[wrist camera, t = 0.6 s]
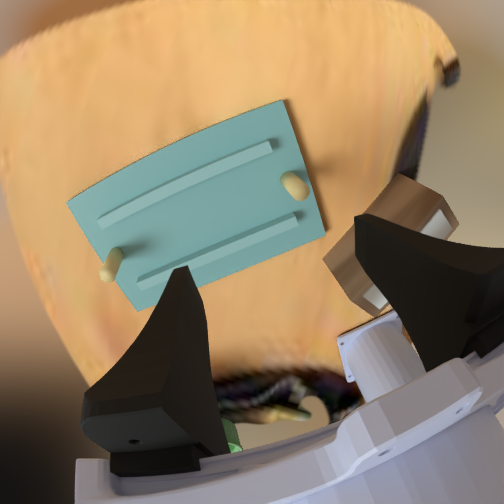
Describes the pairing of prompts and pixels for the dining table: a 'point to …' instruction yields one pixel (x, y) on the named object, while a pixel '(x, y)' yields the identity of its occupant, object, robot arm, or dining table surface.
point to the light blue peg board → (202, 206)
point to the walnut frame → (397, 211)
